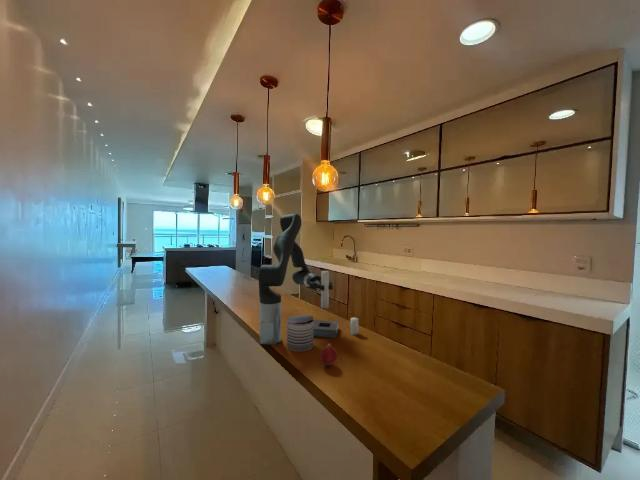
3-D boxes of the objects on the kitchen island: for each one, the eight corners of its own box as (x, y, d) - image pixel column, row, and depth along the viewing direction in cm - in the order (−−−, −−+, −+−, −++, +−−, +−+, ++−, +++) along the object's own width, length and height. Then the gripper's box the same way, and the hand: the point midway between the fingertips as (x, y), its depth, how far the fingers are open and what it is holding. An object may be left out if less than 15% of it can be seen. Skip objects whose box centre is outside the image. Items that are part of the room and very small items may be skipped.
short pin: (358, 335, 128) (358, 320, 128) (350, 334, 129) (350, 319, 129) (358, 332, 132) (358, 317, 132) (350, 331, 132) (350, 317, 132)
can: (301, 354, 108) (301, 324, 108) (280, 346, 115) (280, 318, 115) (319, 344, 117) (319, 316, 117) (298, 338, 124) (299, 311, 124)
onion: (322, 370, 96) (323, 348, 95) (318, 363, 101) (318, 341, 101) (338, 368, 97) (339, 346, 97) (333, 361, 103) (333, 340, 102)
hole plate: (335, 337, 125) (335, 330, 125) (309, 336, 127) (309, 328, 127) (338, 328, 137) (338, 321, 136) (314, 326, 139) (314, 320, 138)
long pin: (328, 308, 129) (328, 272, 128) (320, 308, 130) (320, 272, 129) (329, 306, 133) (329, 271, 132) (321, 305, 133) (322, 270, 133)
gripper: (300, 275, 141) (313, 281, 125) (325, 273, 147) (341, 278, 131) (300, 289, 141) (313, 297, 125) (325, 287, 147) (341, 294, 131)
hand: (327, 288), depth 128 cm, fingers closed on long pin, 3 cm apart
